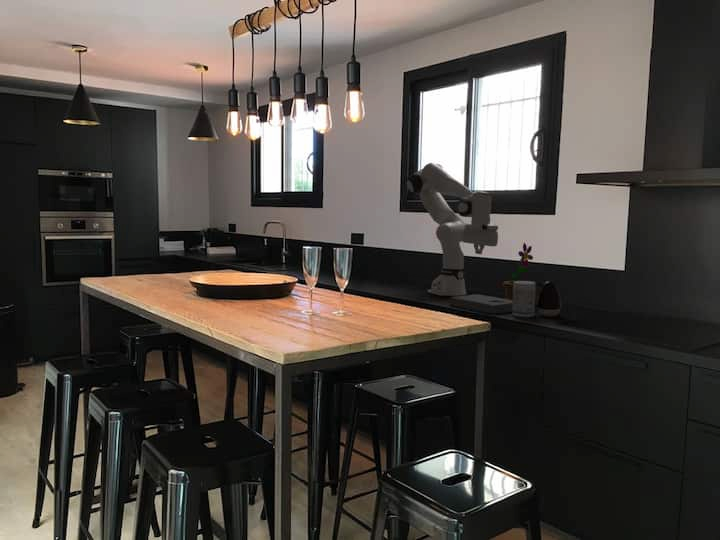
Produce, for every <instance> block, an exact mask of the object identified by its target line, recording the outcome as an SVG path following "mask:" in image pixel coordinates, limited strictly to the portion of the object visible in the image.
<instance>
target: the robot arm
mask: <svg viewBox="0 0 720 540" xmlns="http://www.w3.org/2000/svg"><path fill="white" fill-rule="evenodd" d="M405 183H406V187H407V189H408V191H410V192H411V193H412V194H419V197H420V200H421V202H422V204H423V207H424V208H425V210H426V211H427V213H428V215H429V216H430V217H431V218H432V220H433V221H434V222H435V223H436V224H438V226H437V228H436V230H435V237H436V239H437V240H438V241H439V243H440V246H441V250H442V251H441V252H442V268H439V272H440V275H438V276H437V277H436V278H435V279H434V280H432V282H431V289H427V290H426V292H427V293H430V294H434V295H437V296H449V297H458V296H467V290H466V285H465V284H466V283H465V278H464V277H465V268H464V267H465V266H464V264H465V256H464V255H465V253H464V252H463V250H462V249H461V245H460V244H461V243H463V244H464V243H465V244H473V248H474V252H475V254H477V255H483V250H484V249H485V246H487V247H497V245H498V243H499V232H498V230H499V226H498V225H496V223H494V222H491V212H492V195H491V193H489V192H488V191H483V190H475V191H473V190H472V189H471V188H469V187H468V186H466V185H465V184H463V183H462V182H460V181H459V180H457V179H456V178H455V177H454V176H452V175H451V174H450V173H449V172H448V171H447V170H445V169H444V167H443V166H442V165H441V164H439V163H434V162H429V163H427V164H425V165H424V166H423V168H421V169H420V170H418V171H416V172H414V173H411V174H410V175H409V176H408V177H407V178H406V182H405ZM442 195H446V196H451V197H452V196H454V197H458V198H460V199H459V200H458V201H457V203H456V211H457V213H458V215H459V216H460V217H459V216H458V215H457V214H456V212H454V210H453V209H452V208H451V207H450V205H449V204H448V203H447V201H446V200H445V198H444V196H442ZM461 217H463V218H471V220H470V221H471V223H466V222H465V221H463V220H462V219H461Z"/></svg>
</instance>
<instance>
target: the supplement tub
mask: <svg viewBox="0 0 720 540" xmlns="http://www.w3.org/2000/svg"><path fill="white" fill-rule="evenodd" d="M514 281H515V282H514V283H513V308H512V312H511V314H512V315H513V316H514V317H517V318H519V317H520V318H533V317H534V316H535V314H536V293H537V292H536V290H537V287H536V285H537V283H536V282H535V281H532V280H531V281H530V280H519V281H517V280H514Z"/></svg>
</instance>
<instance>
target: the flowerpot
mask: <svg viewBox="0 0 720 540" xmlns="http://www.w3.org/2000/svg"><path fill="white" fill-rule="evenodd" d="M531 252H532V245H529V246H528V247H527V244H526V242H524V243H523V244H522V251H521V250H520V251H518V253H517V254H518V255H519V256H518V257H520V260H519V261H518V266H517V270H516V271H517V272H516V273H513V274H512V275H511V278H512V279H516V280H509V281H507V280H506V281H503V282H502V287H503V288H504V291H505V299H508V300H513V283H514V282H515V281H520V273H525V272H527V271H529V270H530V268H529V261H532V260H533V259H534V257H533V255H532V254H530V253H531Z"/></svg>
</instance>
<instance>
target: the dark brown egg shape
mask: <svg viewBox="0 0 720 540" xmlns="http://www.w3.org/2000/svg"><path fill="white" fill-rule="evenodd" d="M536 285H537V286H539V287H541V288H540V291H539V292H538V295H537V296H538V297H537V300H536V308H537V311H538V313H539V315H541V316H543V317H547V318H548V317H549V318H550V317H557V315H559V313H560V311H561V309H562V300H561V299H562V297H561V295H560V294H561V293H560V291H559V288H558V286H557V284H556V283H555V282H554V281H551V280H547V281H546V282H544V283H541V282H537V283H536Z"/></svg>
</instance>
